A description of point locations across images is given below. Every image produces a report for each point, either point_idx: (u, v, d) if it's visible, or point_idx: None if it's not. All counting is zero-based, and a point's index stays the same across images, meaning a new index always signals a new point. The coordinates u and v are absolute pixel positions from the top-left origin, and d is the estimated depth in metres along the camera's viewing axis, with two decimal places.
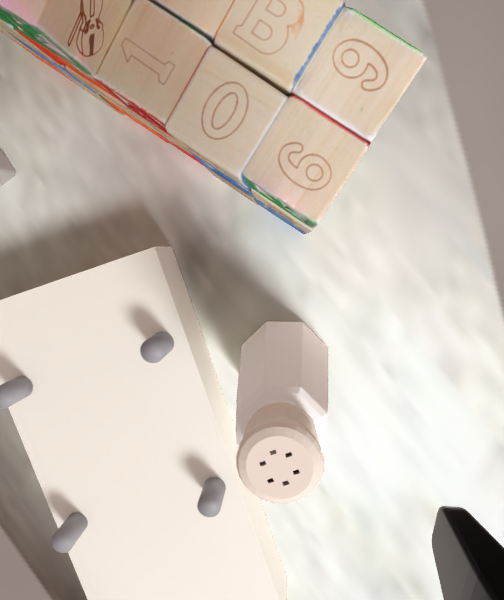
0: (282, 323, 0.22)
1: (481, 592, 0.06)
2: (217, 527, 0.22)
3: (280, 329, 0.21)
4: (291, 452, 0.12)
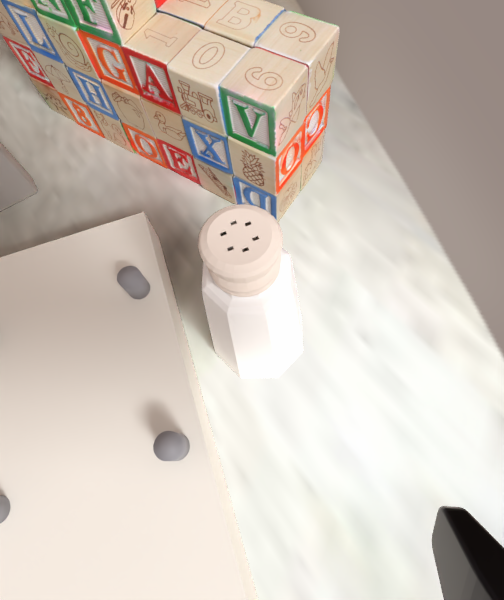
0: None
1: (481, 592, 0.06)
2: (174, 506, 0.17)
3: None
4: (250, 221, 0.13)
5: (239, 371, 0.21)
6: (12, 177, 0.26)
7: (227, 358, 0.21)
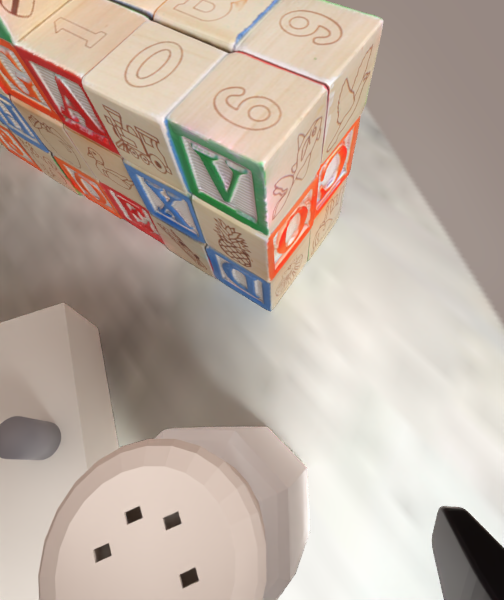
0: None
1: (481, 592, 0.06)
2: None
3: None
4: (179, 513, 0.05)
5: None
6: None
7: None
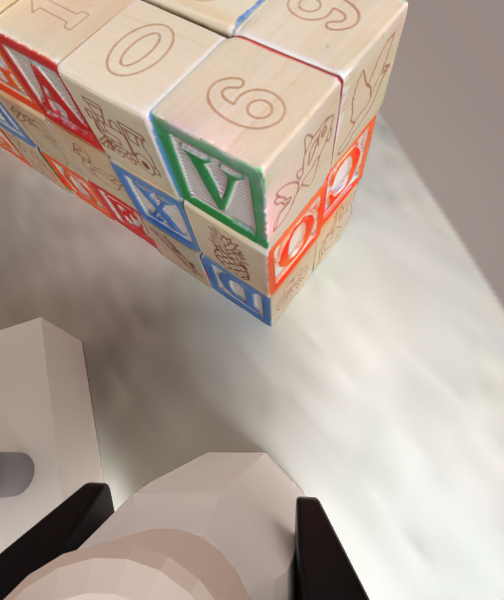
0: (231, 453, 0.14)
1: (298, 576, 0.06)
2: None
3: (224, 455, 0.13)
4: None
5: None
6: None
7: None
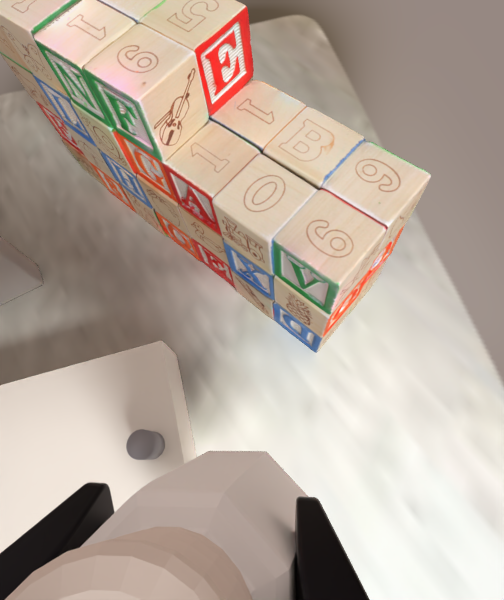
0: (233, 452, 0.14)
1: (298, 577, 0.06)
2: None
3: (226, 454, 0.13)
4: None
5: None
6: (14, 274, 0.23)
7: None
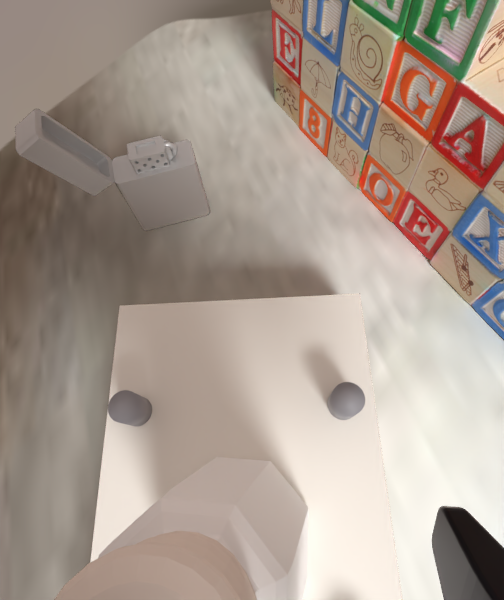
0: (239, 459, 0.15)
1: (481, 592, 0.06)
2: None
3: (233, 462, 0.14)
4: None
5: None
6: (193, 195, 0.22)
7: None
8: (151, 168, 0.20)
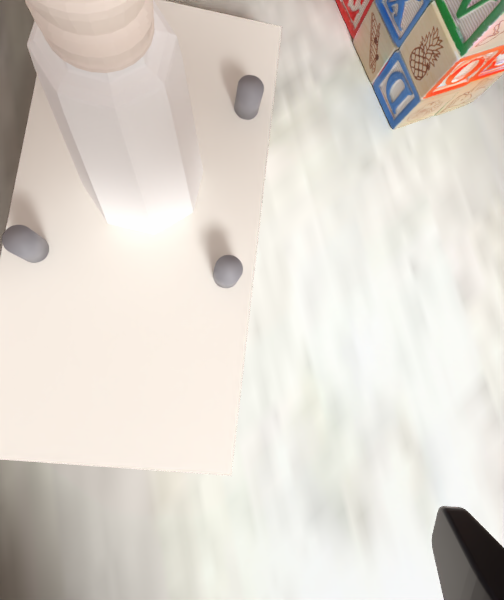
0: None
1: (481, 592, 0.06)
2: (204, 323, 0.18)
3: None
4: None
5: (103, 212, 0.16)
6: None
7: (90, 191, 0.16)
8: None
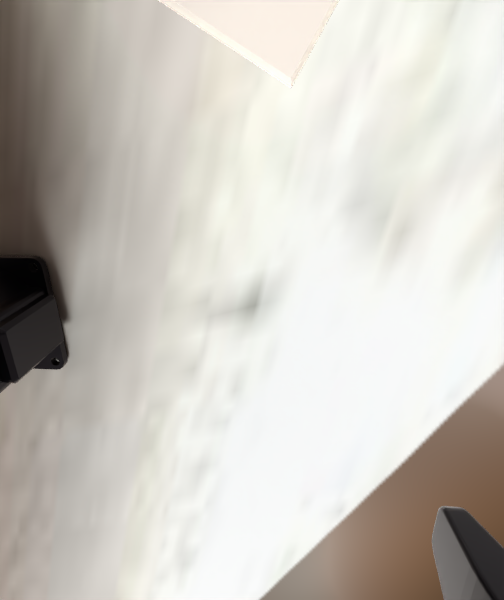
0: None
1: (481, 592, 0.06)
2: None
3: None
4: None
5: None
6: None
7: None
8: None
